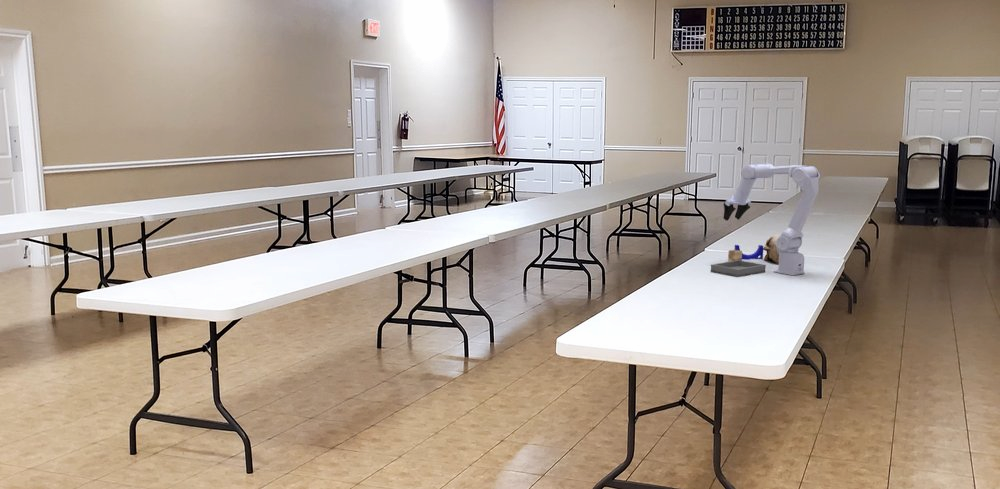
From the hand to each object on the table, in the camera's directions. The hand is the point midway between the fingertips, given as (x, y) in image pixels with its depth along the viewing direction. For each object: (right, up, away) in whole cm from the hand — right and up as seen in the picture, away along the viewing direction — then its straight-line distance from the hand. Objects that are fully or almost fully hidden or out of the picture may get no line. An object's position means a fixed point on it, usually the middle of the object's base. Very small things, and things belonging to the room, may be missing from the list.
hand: (731, 219), depth 363 cm
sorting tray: (-2, -22, -17) cm, 28 cm away
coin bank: (+23, -19, +6) cm, 30 cm away
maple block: (+1, -20, 0) cm, 20 cm away
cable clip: (+11, -18, +13) cm, 25 cm away
